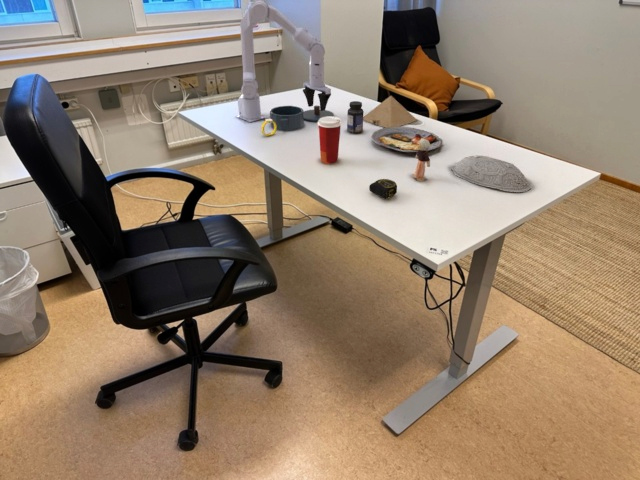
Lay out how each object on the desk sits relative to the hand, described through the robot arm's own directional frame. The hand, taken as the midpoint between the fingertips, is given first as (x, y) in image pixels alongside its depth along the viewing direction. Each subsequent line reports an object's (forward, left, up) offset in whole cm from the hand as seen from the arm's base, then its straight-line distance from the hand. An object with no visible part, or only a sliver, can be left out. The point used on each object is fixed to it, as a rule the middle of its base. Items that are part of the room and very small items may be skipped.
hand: (316, 108), depth 186 cm
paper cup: (+37, -28, -4) cm, 47 cm away
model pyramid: (+23, +19, -4) cm, 30 cm away
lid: (0, 0, -3) cm, 3 cm away
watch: (+4, -28, -4) cm, 28 cm away
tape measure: (+66, -34, -4) cm, 74 cm away
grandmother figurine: (+66, -17, -4) cm, 68 cm away
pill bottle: (+23, -1, -4) cm, 23 cm away
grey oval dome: (+80, 0, -4) cm, 80 cm away
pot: (0, -16, -4) cm, 16 cm away
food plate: (+45, +3, -4) cm, 45 cm away
